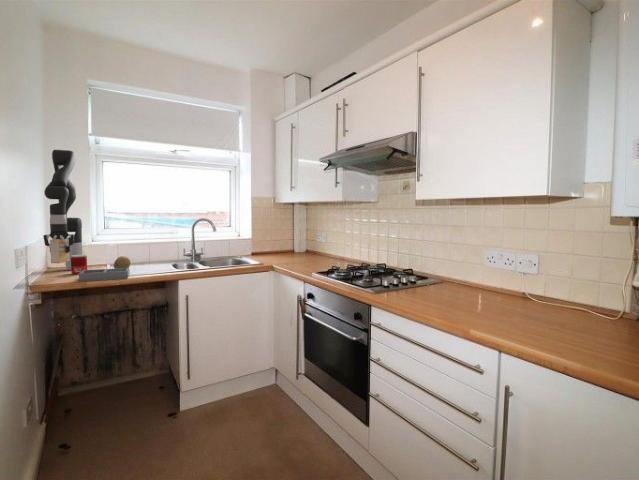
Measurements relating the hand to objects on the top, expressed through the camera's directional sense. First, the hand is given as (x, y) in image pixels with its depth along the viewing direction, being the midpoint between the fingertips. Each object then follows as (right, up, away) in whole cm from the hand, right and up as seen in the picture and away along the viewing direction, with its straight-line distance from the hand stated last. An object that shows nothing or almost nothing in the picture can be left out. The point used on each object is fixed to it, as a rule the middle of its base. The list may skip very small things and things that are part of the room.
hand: (60, 253), depth 195 cm
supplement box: (0, -5, 0) cm, 5 cm away
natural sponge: (+22, -13, +22) cm, 34 cm away
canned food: (-1, -13, +17) cm, 22 cm away
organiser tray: (+22, -14, +5) cm, 27 cm away
